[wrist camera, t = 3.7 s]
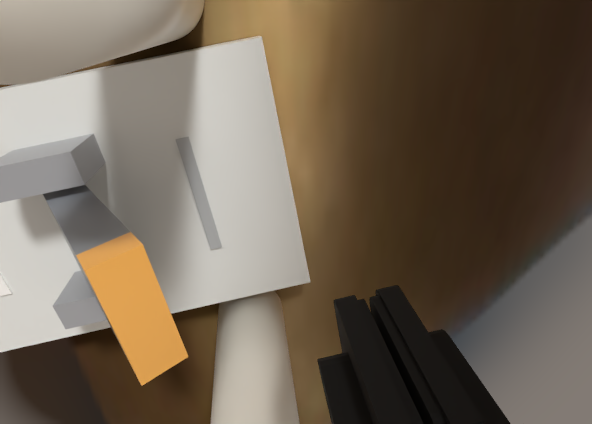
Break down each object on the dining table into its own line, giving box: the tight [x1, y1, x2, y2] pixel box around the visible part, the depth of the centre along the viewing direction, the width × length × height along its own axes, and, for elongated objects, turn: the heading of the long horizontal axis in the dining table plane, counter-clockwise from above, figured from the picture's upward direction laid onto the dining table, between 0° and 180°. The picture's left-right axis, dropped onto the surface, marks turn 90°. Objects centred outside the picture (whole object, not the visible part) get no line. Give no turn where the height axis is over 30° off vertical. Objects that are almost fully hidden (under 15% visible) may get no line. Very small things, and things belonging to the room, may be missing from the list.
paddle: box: [43, 185, 188, 385], centre depth 15 cm, size 2×4×9 cm, turn 12°
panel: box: [0, 36, 310, 352], centre depth 19 cm, size 18×13×5 cm
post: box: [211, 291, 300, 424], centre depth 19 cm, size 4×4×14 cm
